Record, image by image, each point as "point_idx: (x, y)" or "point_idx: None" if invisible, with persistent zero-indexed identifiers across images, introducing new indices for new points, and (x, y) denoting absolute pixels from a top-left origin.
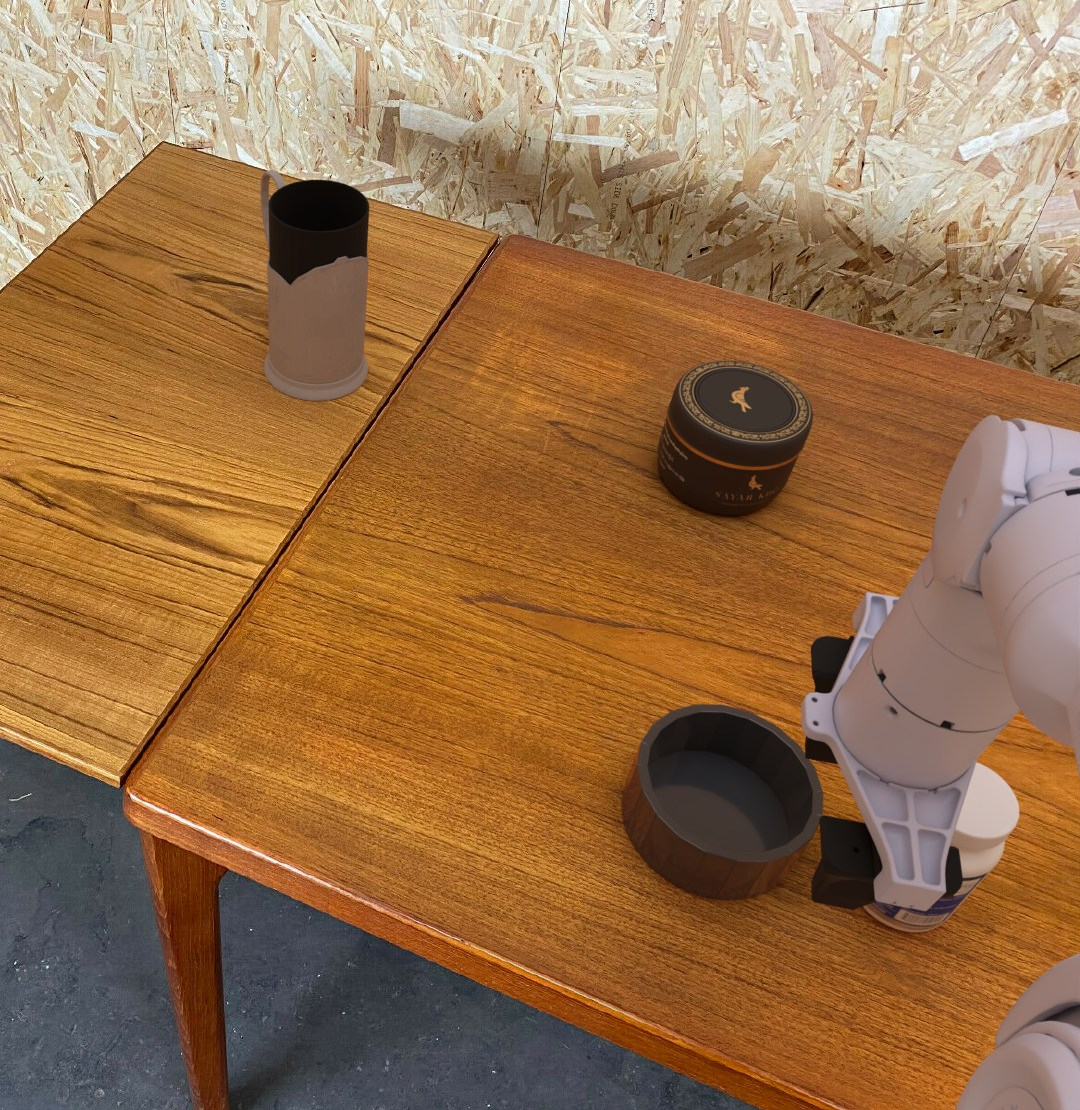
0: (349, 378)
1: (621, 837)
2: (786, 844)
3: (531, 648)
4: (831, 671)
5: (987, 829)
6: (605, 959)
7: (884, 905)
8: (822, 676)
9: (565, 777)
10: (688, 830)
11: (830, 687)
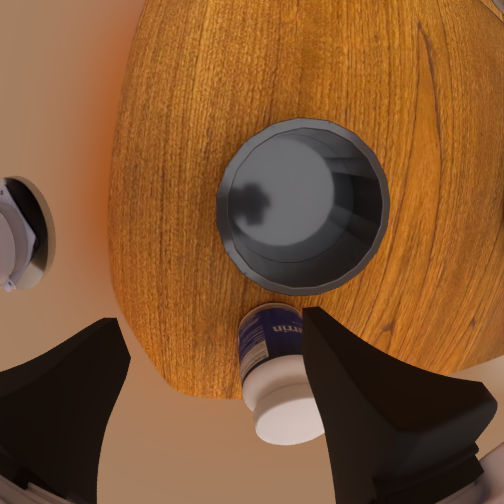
0: (502, 4)
1: (253, 130)
2: (252, 268)
3: (402, 61)
4: (408, 461)
5: (265, 434)
6: (141, 137)
7: (242, 330)
8: (398, 449)
9: (297, 81)
10: (274, 183)
11: (373, 437)
